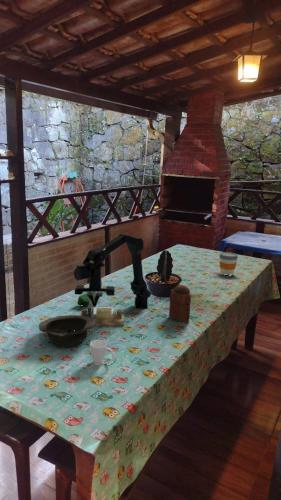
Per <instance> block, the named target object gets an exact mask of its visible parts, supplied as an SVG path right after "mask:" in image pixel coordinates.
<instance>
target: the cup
mask: <svg viewBox="0 0 281 500" xmlns="http://www.w3.org/2000/svg"><path fill="white" fill-rule="evenodd" d="M89 348H90V354H91V359H92V360H91V361H92V364H93V365H95V366H101V365H108V364H109V363H111V362H112V361H113V360H114V358H115V354H114V351H113V350H112V348H110V347H108V342H107V341H105V340H104V339H94V340H91V341H90V342H89ZM107 351H109V352H110V353H111V357H112V358H111V360H109V361H107V362H104V361H105V357H106V352H107Z"/></svg>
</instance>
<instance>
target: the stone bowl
mask: <svg viewBox="0 0 281 500" xmlns="http://www.w3.org/2000/svg"><path fill="white" fill-rule="evenodd" d="M96 324H97V323H95V320H93V319H91V318H89V317H86V316H82V315H80V314H79V315H78V314H71V315H69V314H68V315H59V316H54V317H48V318H47V319H45V320H43V321H41V322H39V324H38V331H41V332H43V333H45V334H46V336H47V338H48V339H49V341H51V342H52V343H55V344H56V347H57V348H60V349H62V348H71V347H77V346H78V345H80V343H81V341H84V340H86V339H87V337H88V330H89V329H92V328H94V326H97V325H96ZM72 330H75V331H74V332H73V331H72Z"/></svg>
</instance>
